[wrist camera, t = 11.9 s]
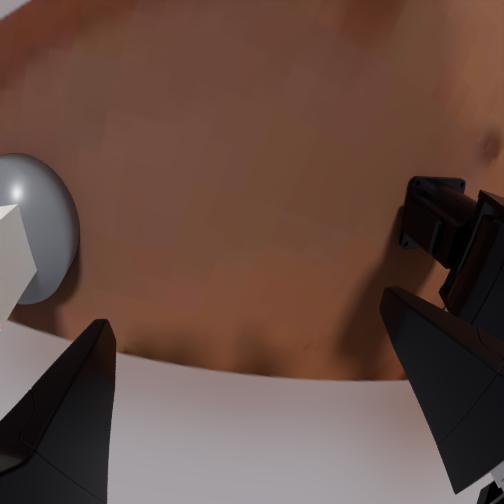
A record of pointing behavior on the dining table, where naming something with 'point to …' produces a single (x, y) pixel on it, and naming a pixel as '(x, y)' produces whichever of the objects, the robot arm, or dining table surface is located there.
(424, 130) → the dining table surface
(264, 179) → the dining table surface
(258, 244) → the dining table surface
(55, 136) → the dining table surface
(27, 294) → the grey dome
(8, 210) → the carton
